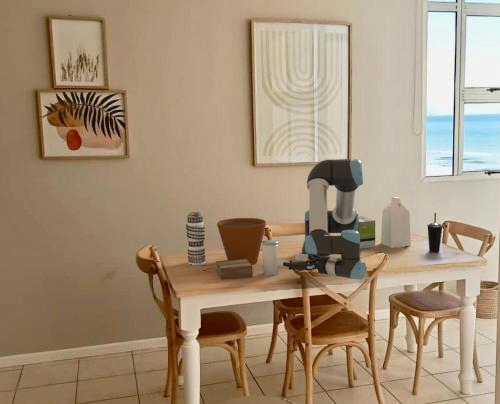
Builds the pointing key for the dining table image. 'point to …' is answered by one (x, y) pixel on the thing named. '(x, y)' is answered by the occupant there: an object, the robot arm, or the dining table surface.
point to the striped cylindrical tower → (195, 238)
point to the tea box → (366, 232)
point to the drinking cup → (434, 236)
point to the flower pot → (242, 238)
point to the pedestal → (234, 269)
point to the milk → (395, 225)
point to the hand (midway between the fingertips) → (287, 259)
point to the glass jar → (270, 257)
